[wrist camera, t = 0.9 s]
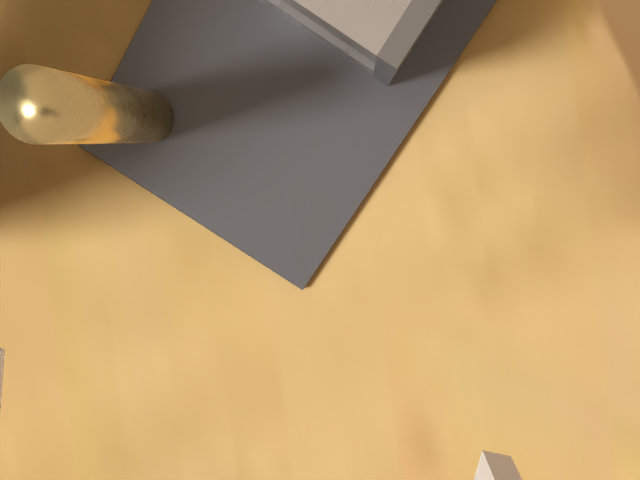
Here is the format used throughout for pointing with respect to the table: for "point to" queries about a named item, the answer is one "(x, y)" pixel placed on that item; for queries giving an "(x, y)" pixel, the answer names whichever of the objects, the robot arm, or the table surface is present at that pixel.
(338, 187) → the mat
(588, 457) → the table surface
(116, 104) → the pin
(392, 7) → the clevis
